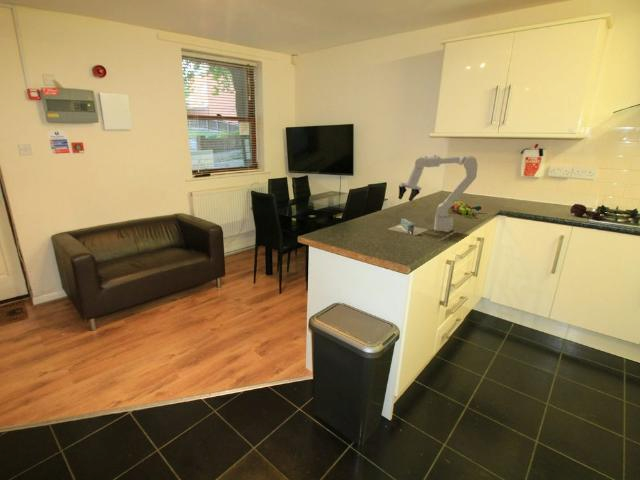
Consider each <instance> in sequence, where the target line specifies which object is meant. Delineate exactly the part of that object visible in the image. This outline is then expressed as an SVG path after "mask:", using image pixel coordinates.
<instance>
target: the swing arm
mask: <svg viewBox="0 0 640 480" xmlns="http://www.w3.org/2000/svg"><path fill="white" fill-rule="evenodd" d="M400 224H401V226H403V227H404V228H405V229H407V230H410V227H411V226H414V227H417V223H415V222H413V221H410V220H408V219H406V218H401V219H400Z"/></svg>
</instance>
